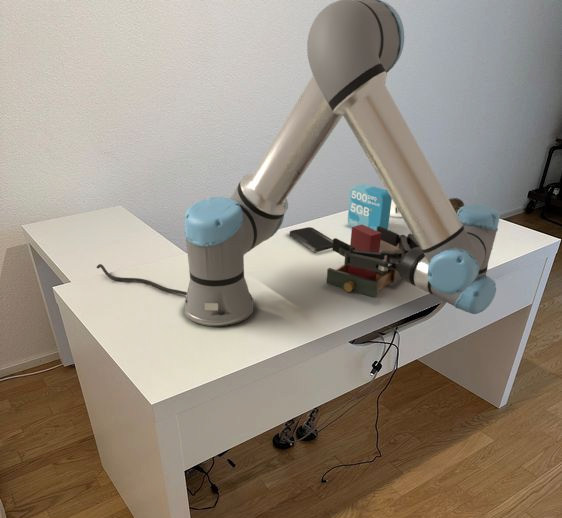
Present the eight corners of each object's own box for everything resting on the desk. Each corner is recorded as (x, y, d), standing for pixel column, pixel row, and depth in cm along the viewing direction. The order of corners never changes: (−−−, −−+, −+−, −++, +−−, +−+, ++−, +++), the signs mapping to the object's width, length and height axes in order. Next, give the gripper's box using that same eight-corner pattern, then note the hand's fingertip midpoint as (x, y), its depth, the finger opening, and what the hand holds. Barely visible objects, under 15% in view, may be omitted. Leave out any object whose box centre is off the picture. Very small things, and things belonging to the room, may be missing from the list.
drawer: (371, 304, 123) (374, 285, 120) (323, 289, 129) (324, 271, 126) (402, 277, 134) (405, 260, 132) (356, 265, 140) (358, 248, 138)
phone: (310, 226, 160) (339, 243, 149) (310, 230, 160) (339, 247, 150) (287, 231, 157) (315, 249, 146) (287, 235, 157) (315, 253, 147)
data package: (346, 225, 164) (350, 185, 157) (356, 222, 167) (359, 182, 160) (378, 236, 157) (383, 195, 150) (387, 232, 160) (393, 191, 153)
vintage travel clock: (479, 204, 164) (449, 192, 167) (467, 212, 155) (436, 199, 158) (468, 226, 169) (439, 213, 172) (456, 235, 159) (426, 221, 162)
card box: (347, 278, 131) (351, 226, 124) (357, 275, 133) (362, 224, 125) (365, 288, 127) (371, 235, 120) (375, 285, 129) (381, 232, 121)
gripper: (378, 302, 108) (313, 265, 122) (460, 272, 120) (392, 241, 134) (383, 267, 104) (315, 233, 118) (467, 240, 116) (396, 211, 130)
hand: (356, 237), depth 126 cm, fingers open, 13 cm apart
